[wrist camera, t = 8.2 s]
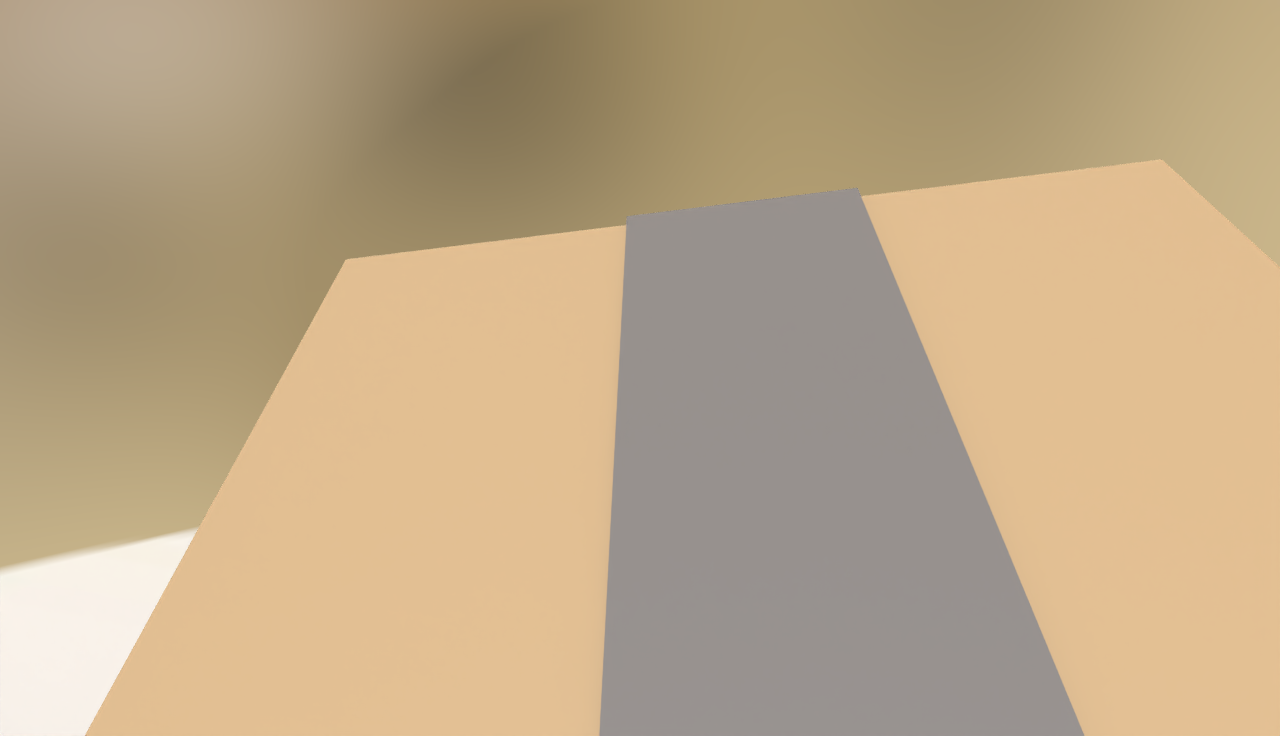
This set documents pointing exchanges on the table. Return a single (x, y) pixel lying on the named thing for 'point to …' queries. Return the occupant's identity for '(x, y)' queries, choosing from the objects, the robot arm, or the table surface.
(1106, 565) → the brown cardboard block
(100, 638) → the table surface
